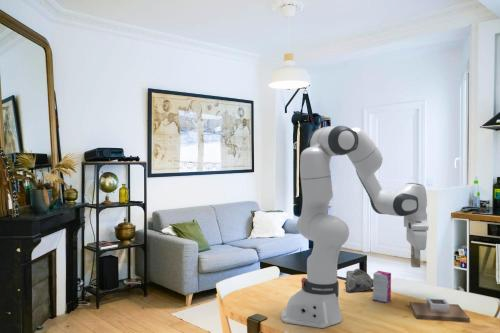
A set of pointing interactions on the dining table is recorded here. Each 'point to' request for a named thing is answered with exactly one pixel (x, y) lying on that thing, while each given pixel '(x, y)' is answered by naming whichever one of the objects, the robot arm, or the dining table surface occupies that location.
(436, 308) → the gray square dish
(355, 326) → the dining table surface
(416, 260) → the birch stick
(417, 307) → the walnut board
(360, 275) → the mineral rock
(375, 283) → the supplement box
